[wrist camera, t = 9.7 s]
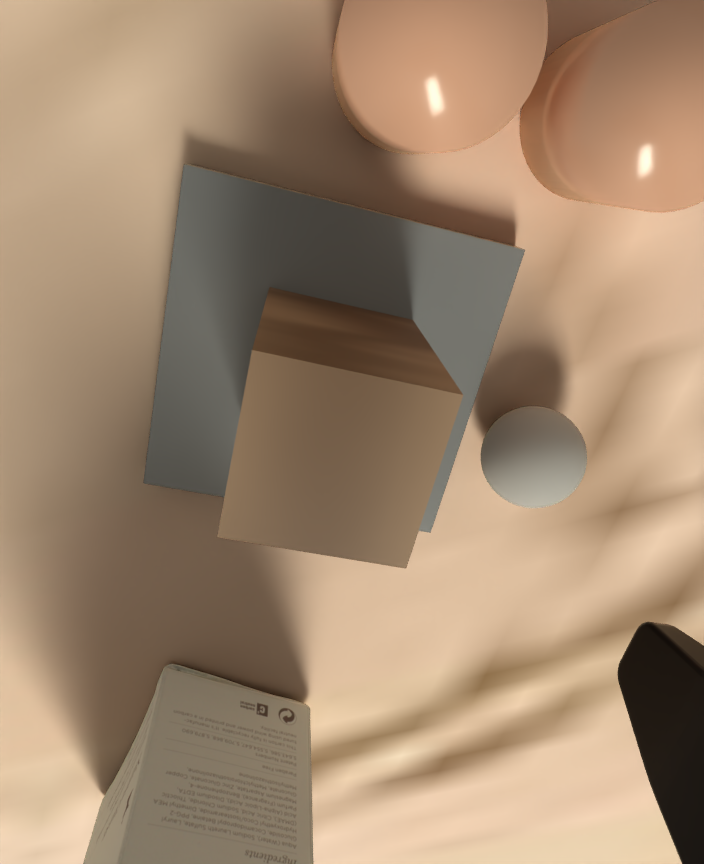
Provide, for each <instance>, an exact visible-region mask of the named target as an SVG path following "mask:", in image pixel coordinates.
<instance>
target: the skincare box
mask: <svg viewBox="0 0 704 864" xmlns="http://www.w3.org/2000/svg"><path fill="white" fill-rule="evenodd" d="M83 864H313V823H312V778H311V732H310V708H309V706H308V705H306V704H304V703H301V702H298V701H295V700H292V699H289V698H285V697H280V696H275V695H272V694H268V693H265V692H261V691H258V690H255V689H252V688H249V687H246V686H243V685H240V684H237V683H234V682H232V681H229V680H226V679H223V678H220V677H217V676H214V675H209V674H207V673H204V672H200V671H197V670H193V669H190V668H187V667H183V666H180V665H176V664H169V665H167V666H165V667H164V669H163V671H162V673H161V675H160V678H159V680H158V683H157V687H156V691H155V694H154V696H153V699H152V701H151V703H150V706H149V708H148V711H147V713H146V715H145V718H144V720H143V722H142V725H141V727H140V729H139V731H138V734H137V736H136V738H135V740H134V742H133V744H132V746H131V748H130V750H129V752H128V754H127V756H126V758H125V760H124V762H123V764H122V766H121V768H120V769H119V771H118V773H117V775H116V777H115V779H114V781H113V782H112V784H111V785H110V787H109V788H108V790H107V792H106V794H105V796H104V798H103V800H102V803H101V806H100V808H99V812H98V815H97V819H96V822H95V825H94V829H93V832H92V836H91V839H90V842H89V846H88V849H87V852H86V856H85V859H84V863H83Z"/></svg>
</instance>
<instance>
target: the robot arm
mask: <svg viewBox="0 0 704 864" xmlns="http://www.w3.org/2000/svg"><path fill="white" fill-rule="evenodd" d="M618 681H619V685H620V688H621V691H622V695H623V698H624V701H625V705H626V708H627V711H628V714H629V718H630V721H631V724H632V727H633V731H634V734H635V737H636V740H637V744H638V747H639V750H640V753H641V757H642V760H643V763H644V767H645V770H646V773H647V776H648V779H649V782H650V785H651V787H652V790H653V793H654V795H655V798H656V800H657V803H658V806H659V808H660V811H661V813H662V815H663V818H664V820H665V823H666V825H667V828H668V830H669V833H670V835H671V838H672V840H673V842H674V845H675V847H676V850H677V852H678V855H679V857H680V860H681V862H682V864H704V646H703V645H702V644H700V643H699V642H697V641H696V640H694V639H693V638H691V637H690V636H688V635H687V634H685V633H684V632H682V631H681V630H679V629H677V628H676V627H674V626H671V625H668V624H661V623H654V622H645V623H643V624H641V625H640V626H639V627H638V628H637V630H636V632H635V634H634V636H633V638H632V640H631V642H630V643H629V645H628V647H627V649H626V651H625V653H624V655H623V657H622V659H621V661H620V663H619V667H618Z"/></svg>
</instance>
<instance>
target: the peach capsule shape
mask: <svg viewBox="0 0 704 864" xmlns="http://www.w3.org/2000/svg"><path fill="white" fill-rule="evenodd" d="M547 38H548V11H547V2H546V0H344V4H343V8H342V12H341V16H340V20H339V24H338V28H337V32H336V37H335V41H334V46H333V53H332V75H333V82H334V87H335V92H336V95H337V98H338V101H339V103H340V106H341V108H342V110H343V112H344V114H345V115H346V117H347V118H348V120H349V122H350V123H351V124H352V125H353V127H354V128H355V129H356V130H357V131H358V132H359V133H360V134H361V135H362V136H363V137H364V138H365V139H367V140H368V141H370V142H371V143H373V144H374V145H376V146H378V147H380V148H382V149H385V150H388V151H391V152H395V153H401V154H425V153H444V152H454V151H458V150H462V149H466V148H469V147H472V146H474V145H477V144H479V143H481V142H483V141H484V140H486V139H488V138H490V137H491V136H493V135H494V134H495V133H497V132H498V131H499V130H501V129H502V128H503V127H504V126H505V125H506V124H507V123H508V122H509V121H510V120H511V119H512V118H513V117H514V116H515V115H516V114H517V112H518V111H519V110H520V109H521V107H522V106H523V104H524V103H525V101H526V100H527V98H528V97H529V95H530V93H531V91H532V89H533V87H534V85H535V83H536V81H537V78H538V76H539V73H540V70H541V67H542V64H543V60H544V56H545V52H546V45H547Z"/></svg>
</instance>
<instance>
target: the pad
mask: <svg viewBox="0 0 704 864" xmlns="http://www.w3.org/2000/svg"><path fill="white" fill-rule="evenodd" d="M524 252H525V250H524V249H522V248H519V247H517V246H514V245H510V244H506V243H502V242H498V241H494V240H490V239H486V238H482V237H478V236H474V235H470V234H466V233H462V232H458V231H454V230H450V229H446V228H442V227H438V226H434V225H430V224H426V223H422V222H418V221H414V220H410V219H406V218H402V217H398V216H394V215H390V214H386V213H382V212H378V211H375V210H371V209H367V208H363V207H359V206H355V205H351V204H347V203H343V202H339V201H335V200H331V199H327V198H323V197H319V196H315V195H311V194H307V193H303V192H299V191H295V190H291V189H287V188H283V187H279V186H275V185H271V184H267V183H263V182H259V181H255V180H251V179H247V178H243V177H239V176H236V175H232V174H228V173H224V172H220V171H216V170H212V169H208V168H204V167H200V166H196V165H192V164H184V167H183V175H182V183H181V191H180V199H179V207H178V215H177V222H176V230H175V238H174V246H173V254H172V262H171V270H170V278H169V286H168V294H167V301H166V309H165V317H164V325H163V333H162V341H161V349H160V357H159V365H158V372H157V380H156V388H155V396H154V404H153V412H152V420H151V428H150V436H149V444H148V451H147V459H146V467H145V475H144V483H145V484H151V485H156V486H162V487H168V488H174V489H180V490H186V491H191V492H197V493H203V494H209V495H215V496H220V497H225V491H226V486H227V481H228V475H229V470H230V465H231V459H232V454H233V449H234V443H235V438H236V433H237V427H238V422H239V417H240V412H241V406H242V401H243V396H244V390H245V385H246V380H247V374H248V369H249V364H250V358H251V353H252V348H253V345H254V341H255V338H256V334H257V330H258V327H259V323H260V319H261V316H262V312H263V309H264V305H265V301H266V298H267V294H268V290H269V287H272V288H276V289H281V290H285V291H289V292H294V293H298V294H302V295H307V296H311V297H315V298H320V299H324V300H328V301H333V302H337V303H341V304H346V305H350V306H354V307H359V308H363V309H367V310H372V311H376V312H381V313H385V314H389V315H394V316H398V317H402V318H407V319H411V320H413V321H414V322H415V324H416V325H417V327H418V328H419V330H420V331H421V333H422V334H423V336H424V337H425V338H426V340H427V341H428V343H429V344H430V346H431V347H432V349H433V350H434V352H435V353H436V355H437V356H438V358H439V359H440V361H441V362H442V364H443V365H444V367H445V368H446V370H447V371H448V373H449V374H450V376H451V377H452V379H453V380H454V382H455V383H456V385H457V386H458V388H459V389H460V391H461V392H462V394H463V398H462V401H461V404H460V407H459V410H458V413H457V416H456V419H455V422H454V425H453V428H452V431H451V434H450V437H449V440H448V443H447V446H446V449H445V452H444V455H443V458H442V461H441V464H440V467H439V470H438V473H437V476H436V479H435V482H434V486H433V489H432V492H431V495H430V498H429V501H428V504H427V507H426V510H425V513H424V516H423V519H422V522H421V525H420V528H419V531H424V532H431V529H432V527H433V524H434V521H435V518H436V515H437V512H438V509H439V506H440V503H441V500H442V497H443V494H444V491H445V488H446V485H447V482H448V479H449V476H450V473H451V470H452V467H453V464H454V461H455V458H456V455H457V452H458V449H459V446H460V443H461V440H462V437H463V434H464V431H465V428H466V425H467V422H468V419H469V416H470V413H471V410H472V407H473V404H474V401H475V398H476V395H477V392H478V389H479V386H480V383H481V380H482V377H483V374H484V371H485V368H486V365H487V362H488V359H489V356H490V353H491V350H492V347H493V344H494V341H495V338H496V335H497V332H498V329H499V326H500V323H501V320H502V317H503V314H504V311H505V308H506V305H507V302H508V299H509V297H510V294H511V291H512V288H513V285H514V282H515V279H516V276H517V273H518V270H519V267H520V264H521V261H522V258H523V255H524Z"/></svg>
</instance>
